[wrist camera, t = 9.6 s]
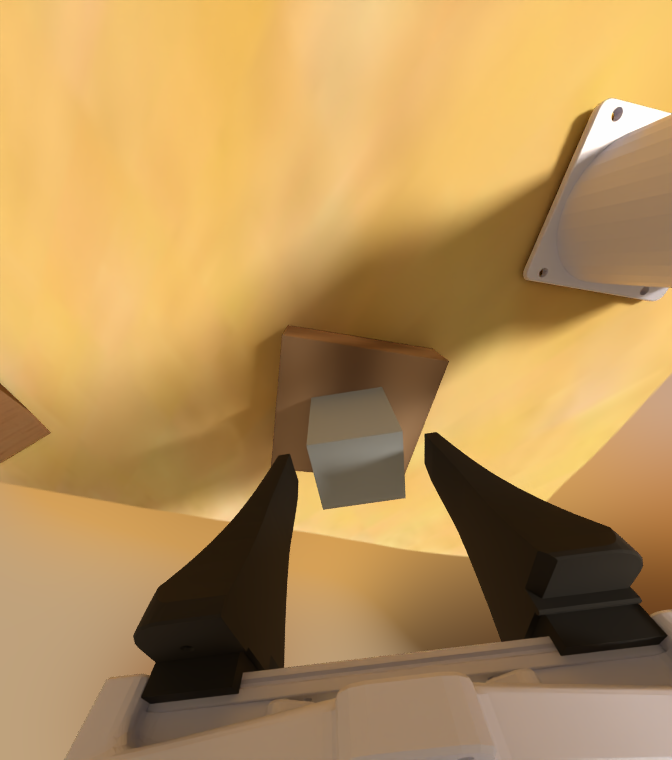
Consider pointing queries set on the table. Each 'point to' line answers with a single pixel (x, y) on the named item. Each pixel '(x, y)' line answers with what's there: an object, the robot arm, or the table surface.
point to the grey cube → (355, 448)
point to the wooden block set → (17, 426)
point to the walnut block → (350, 383)
